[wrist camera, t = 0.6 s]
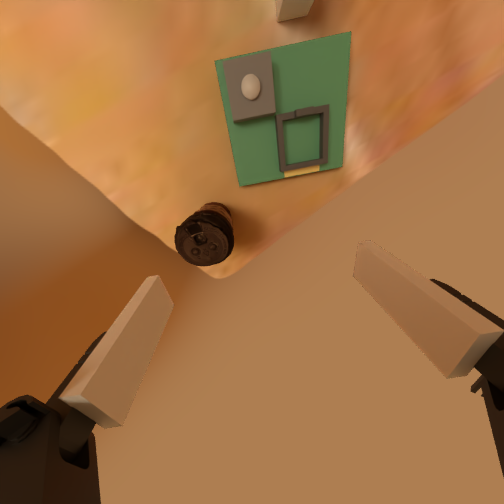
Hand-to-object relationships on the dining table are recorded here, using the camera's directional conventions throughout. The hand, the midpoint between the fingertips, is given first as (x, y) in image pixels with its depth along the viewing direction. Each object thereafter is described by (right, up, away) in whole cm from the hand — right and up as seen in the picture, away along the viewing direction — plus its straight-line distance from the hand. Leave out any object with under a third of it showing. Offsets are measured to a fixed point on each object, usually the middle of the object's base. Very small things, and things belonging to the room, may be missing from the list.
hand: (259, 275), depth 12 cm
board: (+5, +22, +17) cm, 28 cm away
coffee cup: (-8, +9, +24) cm, 26 cm away
